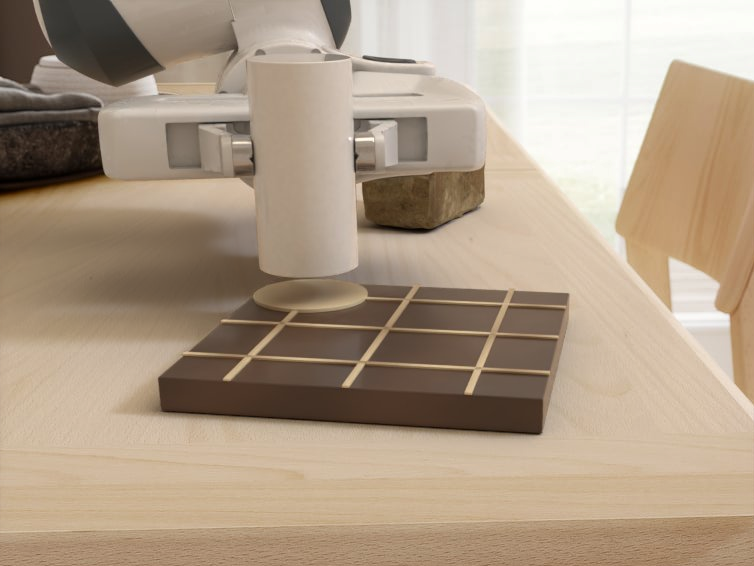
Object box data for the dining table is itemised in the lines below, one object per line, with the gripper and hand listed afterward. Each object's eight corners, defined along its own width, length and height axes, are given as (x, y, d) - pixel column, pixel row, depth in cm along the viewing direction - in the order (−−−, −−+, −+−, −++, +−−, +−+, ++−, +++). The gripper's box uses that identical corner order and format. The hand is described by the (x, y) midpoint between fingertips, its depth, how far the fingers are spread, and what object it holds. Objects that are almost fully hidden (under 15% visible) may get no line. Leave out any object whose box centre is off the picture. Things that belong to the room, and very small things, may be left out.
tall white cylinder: (245, 276, 57) (230, 61, 53) (275, 252, 62) (263, 52, 58) (345, 280, 57) (337, 63, 53) (368, 255, 61) (362, 54, 57)
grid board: (160, 411, 49) (156, 372, 48) (273, 306, 63) (271, 276, 63) (542, 434, 47) (543, 394, 46) (568, 320, 61) (570, 288, 60)
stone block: (357, 228, 82) (355, 155, 80) (419, 200, 92) (419, 134, 90) (434, 235, 80) (433, 160, 78) (489, 205, 90) (490, 138, 88)
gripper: (100, 65, 66) (72, 93, 53) (458, 60, 69) (511, 85, 57) (113, 179, 68) (89, 230, 56) (458, 168, 72) (508, 215, 59)
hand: (305, 157), depth 56 cm, fingers closed on tall white cylinder, 5 cm apart
